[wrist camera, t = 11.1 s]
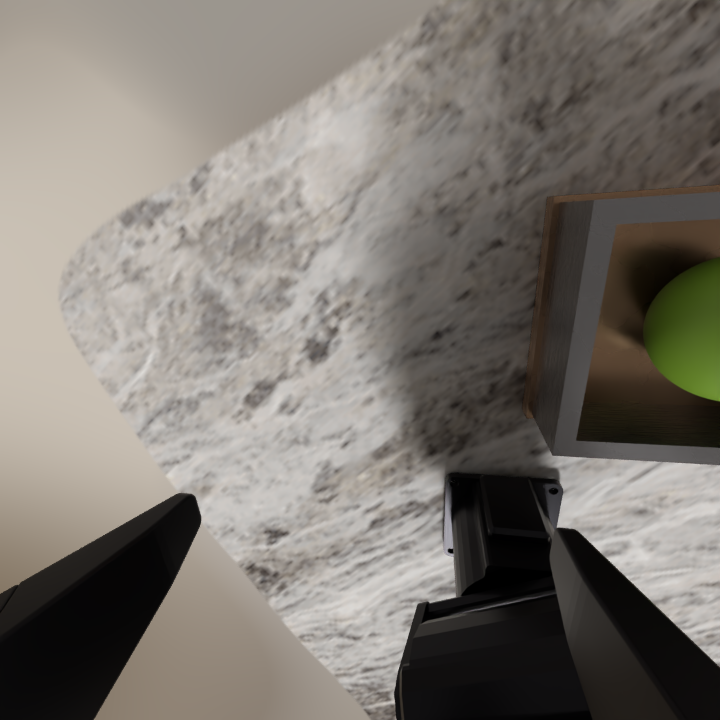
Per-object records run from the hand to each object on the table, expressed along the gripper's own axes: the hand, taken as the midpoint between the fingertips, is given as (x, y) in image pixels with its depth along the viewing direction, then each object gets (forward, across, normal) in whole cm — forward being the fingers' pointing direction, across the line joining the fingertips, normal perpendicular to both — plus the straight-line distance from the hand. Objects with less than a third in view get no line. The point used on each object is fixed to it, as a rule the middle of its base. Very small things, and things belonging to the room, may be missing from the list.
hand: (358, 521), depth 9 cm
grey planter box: (+12, -12, -2) cm, 17 cm away
